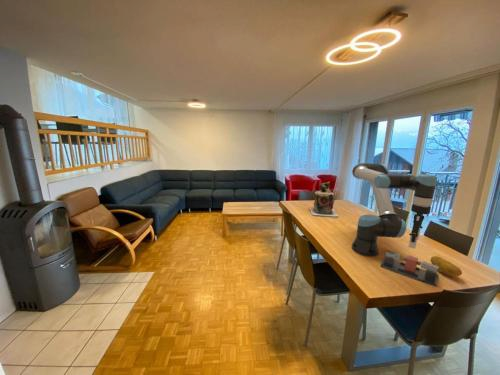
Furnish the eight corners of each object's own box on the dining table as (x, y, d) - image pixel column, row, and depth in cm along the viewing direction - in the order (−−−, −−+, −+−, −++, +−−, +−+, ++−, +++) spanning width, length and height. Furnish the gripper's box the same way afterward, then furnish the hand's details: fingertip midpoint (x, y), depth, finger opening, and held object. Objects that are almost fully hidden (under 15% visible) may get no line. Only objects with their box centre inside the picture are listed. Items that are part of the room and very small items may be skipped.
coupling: (419, 271, 111) (421, 259, 110) (418, 275, 108) (420, 262, 106) (401, 265, 116) (404, 253, 115) (400, 268, 113) (402, 257, 111)
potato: (450, 281, 105) (453, 268, 104) (425, 265, 119) (428, 253, 118) (463, 281, 106) (466, 268, 104) (437, 265, 120) (439, 253, 118)
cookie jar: (308, 208, 222) (311, 179, 215) (332, 209, 219) (335, 180, 212) (312, 216, 198) (315, 183, 191) (339, 217, 195) (343, 184, 188)
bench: (380, 266, 117) (382, 253, 115) (385, 258, 125) (387, 246, 123) (436, 287, 100) (440, 272, 99) (438, 276, 109) (441, 262, 107)
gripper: (429, 212, 94) (419, 254, 98) (432, 201, 111) (424, 238, 116) (408, 208, 99) (400, 248, 103) (415, 198, 116) (408, 233, 121)
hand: (413, 243), depth 110 cm, fingers open, 13 cm apart
